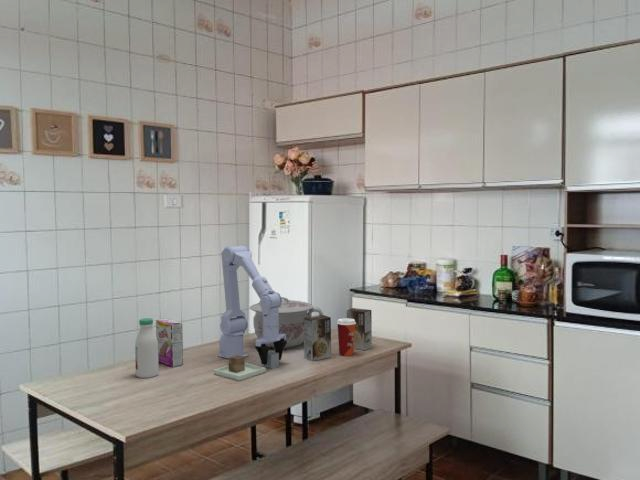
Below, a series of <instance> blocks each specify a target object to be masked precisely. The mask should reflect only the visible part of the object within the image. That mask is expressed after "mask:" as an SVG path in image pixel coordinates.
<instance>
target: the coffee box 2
mask: <svg viewBox="0 0 640 480" xmlns="http://www.w3.org/2000/svg"><path fill="white" fill-rule="evenodd" d="M346 318H351V319H354V320H355V322H356V324H355V336H354V350H360V351H367V350H369V349H372V348H373V345H372V344H373V342H372V341H373V339H372V337H373V336H372V331H373V329H372V325H373V324H372V323H373V321H372V309H366V308H355V307H352V308H350V309H346Z"/></svg>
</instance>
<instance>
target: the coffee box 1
mask: <svg viewBox="0 0 640 480" xmlns="http://www.w3.org/2000/svg"><path fill="white" fill-rule="evenodd" d="M331 318H332V317H331V316H328V315H324V314H323V315H319V314H318V315H311V316H310V317H304V341H303V351H304V352H303V357H304V359H307V360H309V361H312V362H315V361H319V360H324V359H329V358H332V328H331V327H332V324H331V323H332V321H331V320H332V319H331Z"/></svg>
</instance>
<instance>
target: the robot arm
mask: <svg viewBox="0 0 640 480" xmlns="http://www.w3.org/2000/svg"><path fill="white" fill-rule="evenodd" d="M220 254H221V264H222V267H221V268H222V275H223V286H224V287H223V288H224V299H225V308H226V309H225V311H224V313H223V314H221V316H220V319H221V320H220V325H219V327H220V331H221V333H222V334H221V335H220V338H219V343H218V344H219V354H217V357H220V358H225V359H228V360H229V357H231V356H235V355H240V356H244V357H245V358H246V357H249V354H247V353H244V352H245V351H244V350H245V348H244V334H245V333H246V330H247V329H248V326H249V324H248V320H247V318H246V313H245V312H244V311H243V310H242V309H241V305H240V292H239V282H238V272H237V270H238V269H239V268H240V267H242V269H244V271H245V272H246V273H247V275H248V276H249V277H250V280H251V281H252V283H251V286H252V288H253V290H254V291H255V293H256V294H257V296H258V298H259V299H260V300H259V302H258V303H260V307H261V309H262V314H263V338H261V339H256V340H255V341H254V342H255V345H254V348H255V349H256V351H257V354H258V356H259V359H260V362H261V365H263V366H264V365H266V364H267V356H268V352H270V351H269V350H270V348H271V347H268V346H266V345H265V344H268V343H272V342H273V344H274V348H273V349H274V352H277V353H279V361H281V360H282V356H283V353H284V350H285V348H284V347H285V345H286V344H287V341H285V339H286V334H279V310H278V307H280V306H281V303H282V299H281V297H282V296H281V294H280V293H279V292H276V291H275V290H274V289H273V288H272V286H271V285H270V284H269V281H268V279H267V278H266V277H265V276H261V274H260V272H259V270H258V268H257V266H256V265H255V262H254V261H253V259H252V256H253V255H252V254H253V253H252V251H251V250H250V247H248V245H245V244H244V245H243V244H242V245H238V246H236V245H235V246H225V247H224V248H223V250H222V251H221V253H220Z"/></svg>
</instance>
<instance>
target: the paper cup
mask: <svg viewBox="0 0 640 480" xmlns="http://www.w3.org/2000/svg"><path fill="white" fill-rule="evenodd" d="M336 324H337V337H338V338H337V340H338V352H339V356H341V357H342V356H343V357H350V356H351V357H352V356H353V355H354V350H355V349H354V336H355V324H356V322H355V320H354V319H351V318H347V317H346V318H345V317H344V318H338V319H337V322H336Z"/></svg>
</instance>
